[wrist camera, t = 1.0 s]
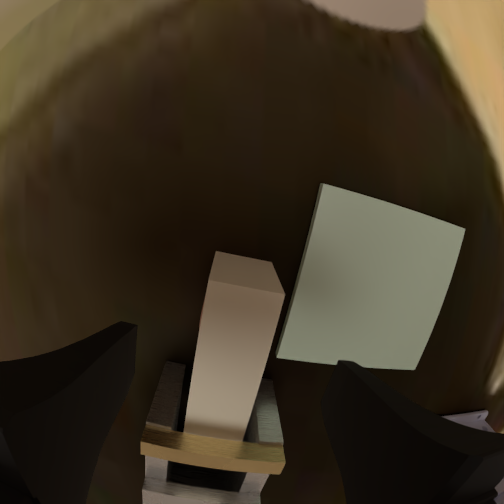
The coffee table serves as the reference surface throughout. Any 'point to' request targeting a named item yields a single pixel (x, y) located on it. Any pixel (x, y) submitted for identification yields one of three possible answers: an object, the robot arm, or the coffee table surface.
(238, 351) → the beige rectangular block
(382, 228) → the pad
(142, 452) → the frame
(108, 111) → the coffee table surface
